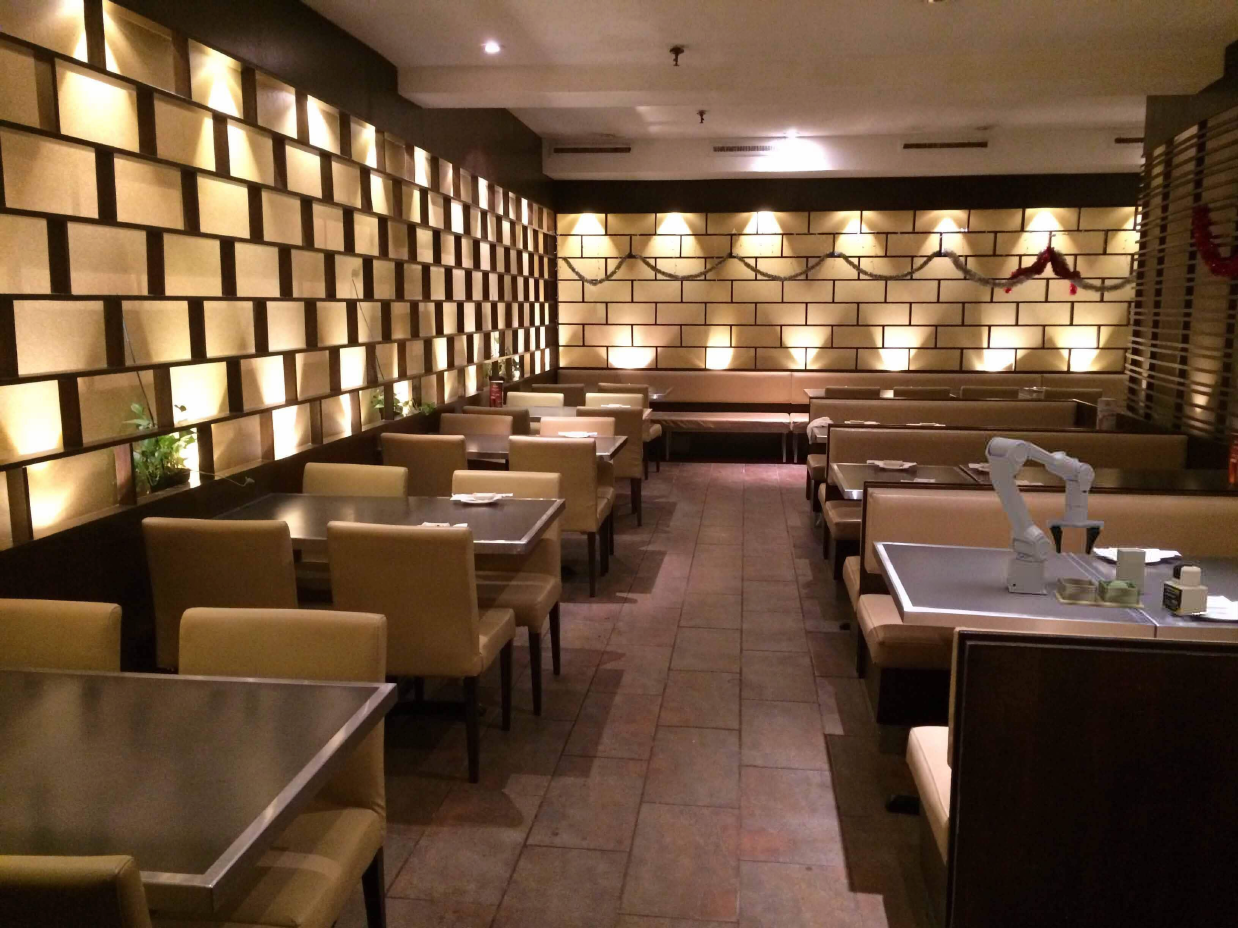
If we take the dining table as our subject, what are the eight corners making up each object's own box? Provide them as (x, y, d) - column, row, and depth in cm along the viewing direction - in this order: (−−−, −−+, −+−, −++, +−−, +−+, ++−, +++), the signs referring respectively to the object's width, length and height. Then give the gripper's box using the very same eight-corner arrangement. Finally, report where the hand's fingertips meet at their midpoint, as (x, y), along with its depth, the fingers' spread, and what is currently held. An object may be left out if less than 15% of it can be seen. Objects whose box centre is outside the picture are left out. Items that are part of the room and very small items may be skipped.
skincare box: (1136, 590, 267) (1139, 548, 266) (1143, 594, 263) (1146, 551, 262) (1113, 590, 268) (1116, 547, 266) (1120, 594, 264) (1123, 550, 262)
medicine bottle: (1161, 608, 250) (1164, 562, 249) (1187, 607, 251) (1191, 562, 249) (1179, 615, 243) (1183, 569, 242) (1206, 615, 244) (1210, 568, 242)
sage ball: (1109, 601, 254) (1110, 582, 254) (1105, 596, 259) (1106, 578, 259) (1130, 602, 253) (1131, 583, 252) (1126, 597, 258) (1126, 578, 257)
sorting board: (1060, 603, 254) (1061, 586, 253) (1053, 593, 264) (1054, 576, 264) (1145, 609, 249) (1146, 592, 248) (1134, 598, 259) (1135, 581, 259)
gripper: (1051, 506, 266) (1048, 555, 268) (1108, 508, 264) (1105, 557, 265) (1045, 502, 273) (1042, 549, 275) (1101, 504, 271) (1097, 552, 272)
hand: (1073, 553), depth 271 cm, fingers open, 7 cm apart
